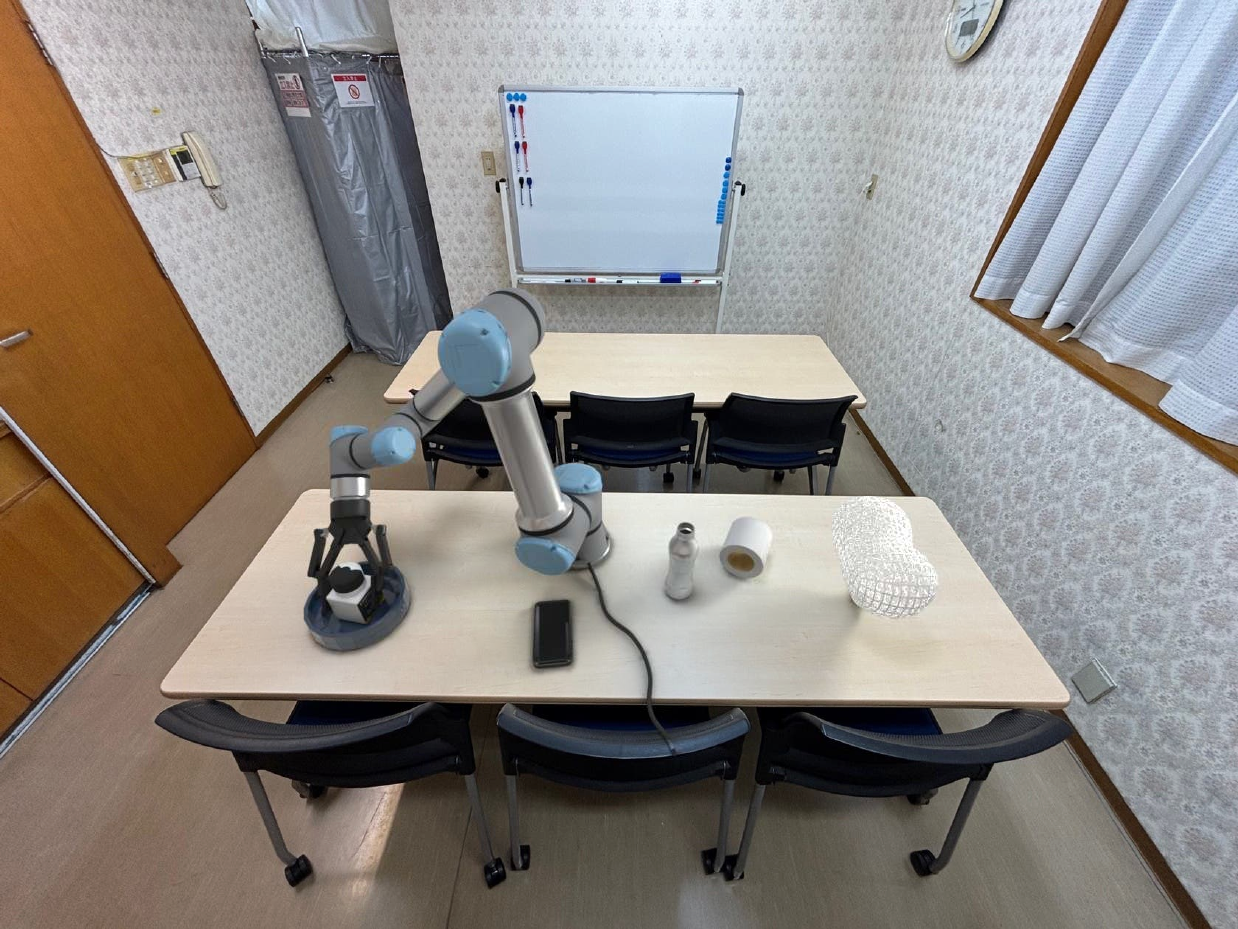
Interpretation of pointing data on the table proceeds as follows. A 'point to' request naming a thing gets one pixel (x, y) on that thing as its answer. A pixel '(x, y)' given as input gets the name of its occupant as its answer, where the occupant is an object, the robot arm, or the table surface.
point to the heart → (882, 559)
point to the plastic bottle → (681, 562)
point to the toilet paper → (746, 547)
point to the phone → (552, 634)
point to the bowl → (353, 633)
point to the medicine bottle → (351, 593)
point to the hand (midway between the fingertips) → (351, 609)
